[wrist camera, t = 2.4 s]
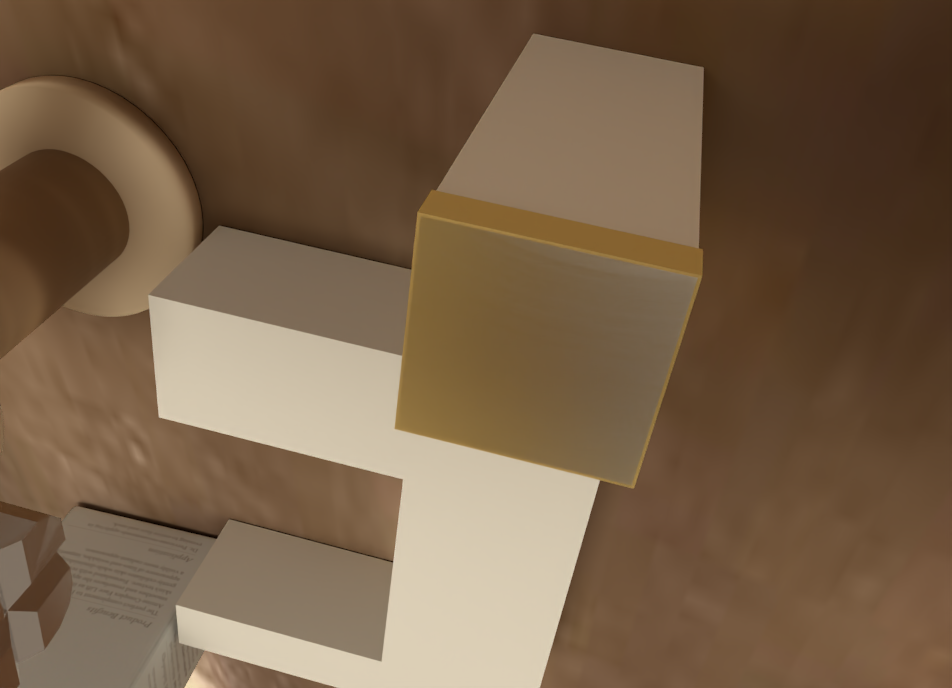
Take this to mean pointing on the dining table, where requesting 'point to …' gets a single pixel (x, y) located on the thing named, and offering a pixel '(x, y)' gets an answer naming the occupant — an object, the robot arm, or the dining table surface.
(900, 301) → the dining table surface
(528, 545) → the notched board
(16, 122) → the spool
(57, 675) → the skincare box
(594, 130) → the gold trimmed white carton
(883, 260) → the dining table surface
